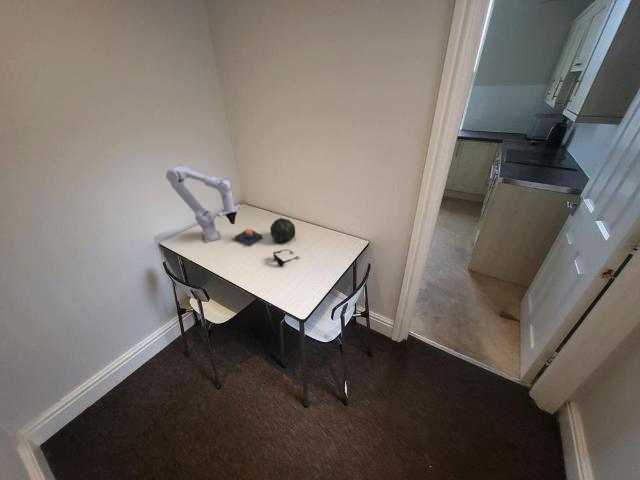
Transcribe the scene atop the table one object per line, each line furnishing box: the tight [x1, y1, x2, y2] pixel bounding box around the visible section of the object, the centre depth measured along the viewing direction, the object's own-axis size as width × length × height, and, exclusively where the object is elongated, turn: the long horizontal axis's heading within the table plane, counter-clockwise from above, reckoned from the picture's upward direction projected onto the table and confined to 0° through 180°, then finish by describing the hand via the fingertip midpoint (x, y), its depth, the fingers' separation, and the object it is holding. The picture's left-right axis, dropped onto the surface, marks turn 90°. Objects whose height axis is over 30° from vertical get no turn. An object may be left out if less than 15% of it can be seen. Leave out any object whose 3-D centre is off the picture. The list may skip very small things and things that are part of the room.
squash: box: [269, 217, 296, 243], centre depth 150 cm, size 14×15×15 cm
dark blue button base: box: [234, 228, 263, 247], centre depth 152 cm, size 12×10×4 cm
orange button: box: [245, 228, 254, 235], centre depth 150 cm, size 4×4×2 cm
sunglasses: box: [272, 249, 299, 267], centre depth 135 cm, size 10×12×5 cm
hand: (232, 223), depth 148 cm, fingers closed
